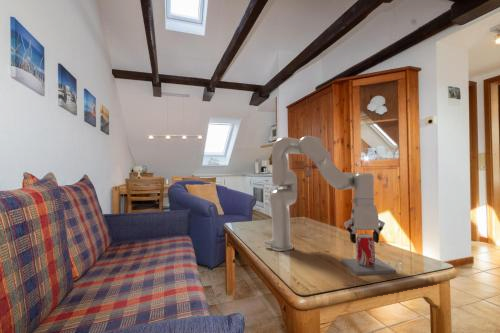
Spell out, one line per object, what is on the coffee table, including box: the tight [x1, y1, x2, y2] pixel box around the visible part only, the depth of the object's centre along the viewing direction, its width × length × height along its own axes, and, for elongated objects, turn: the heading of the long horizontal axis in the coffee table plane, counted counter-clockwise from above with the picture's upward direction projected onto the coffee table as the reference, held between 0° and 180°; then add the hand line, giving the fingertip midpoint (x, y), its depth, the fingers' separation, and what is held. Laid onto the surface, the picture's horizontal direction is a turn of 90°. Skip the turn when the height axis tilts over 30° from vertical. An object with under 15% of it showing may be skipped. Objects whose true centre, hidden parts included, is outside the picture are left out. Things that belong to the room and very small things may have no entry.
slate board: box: [341, 257, 397, 276], centre depth 103 cm, size 16×14×1 cm
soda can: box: [355, 233, 376, 266], centre depth 103 cm, size 7×7×12 cm
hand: (364, 242), depth 103 cm, fingers open, 9 cm apart
